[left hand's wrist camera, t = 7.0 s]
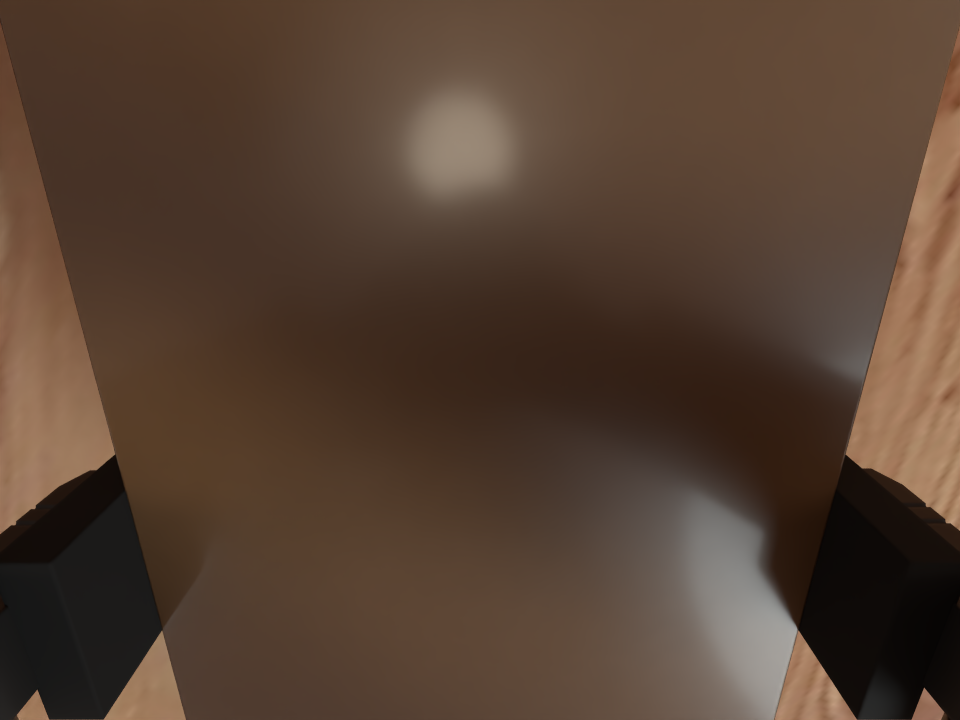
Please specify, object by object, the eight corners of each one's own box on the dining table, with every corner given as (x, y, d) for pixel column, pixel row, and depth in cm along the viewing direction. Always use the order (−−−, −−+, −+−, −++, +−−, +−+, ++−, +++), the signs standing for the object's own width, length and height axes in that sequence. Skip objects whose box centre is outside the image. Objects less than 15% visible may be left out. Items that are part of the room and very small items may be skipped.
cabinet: (219, -282, 11) (-317, -1159, 4) (742, -282, 11) (1279, -1156, 4) (317, 514, 18) (200, 779, 10) (642, 514, 18) (759, 780, 10)
